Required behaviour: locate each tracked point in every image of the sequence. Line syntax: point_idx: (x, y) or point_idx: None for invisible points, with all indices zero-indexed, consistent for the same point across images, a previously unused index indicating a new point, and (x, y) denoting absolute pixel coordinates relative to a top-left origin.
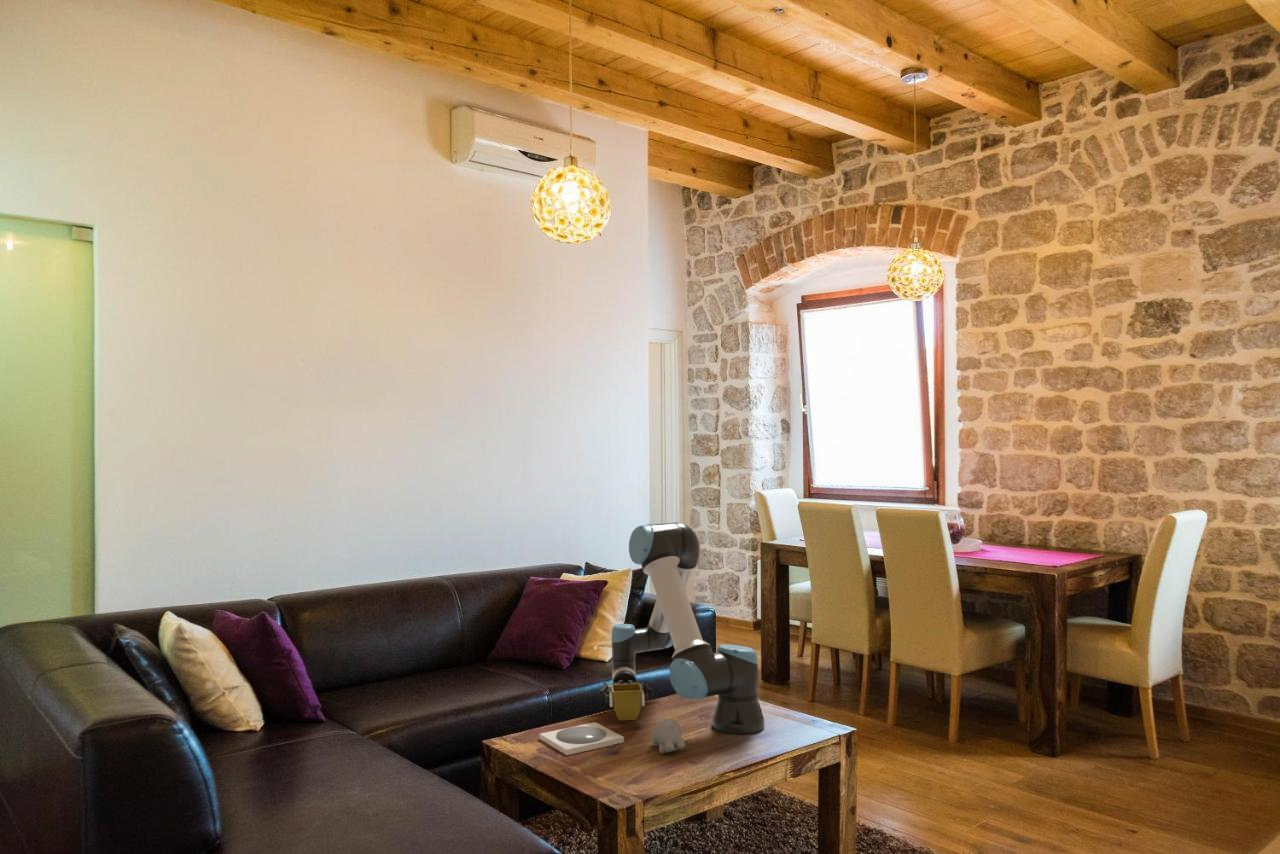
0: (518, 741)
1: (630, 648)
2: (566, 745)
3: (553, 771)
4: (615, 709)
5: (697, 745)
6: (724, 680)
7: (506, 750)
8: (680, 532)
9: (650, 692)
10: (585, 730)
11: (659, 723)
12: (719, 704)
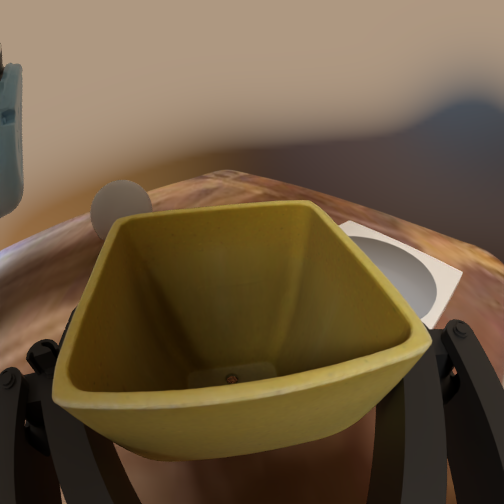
0: (477, 270)
1: None
2: (362, 231)
3: (333, 199)
4: (291, 299)
5: (58, 278)
6: None
7: (455, 241)
8: None
9: (28, 378)
10: None
11: (138, 185)
12: None
